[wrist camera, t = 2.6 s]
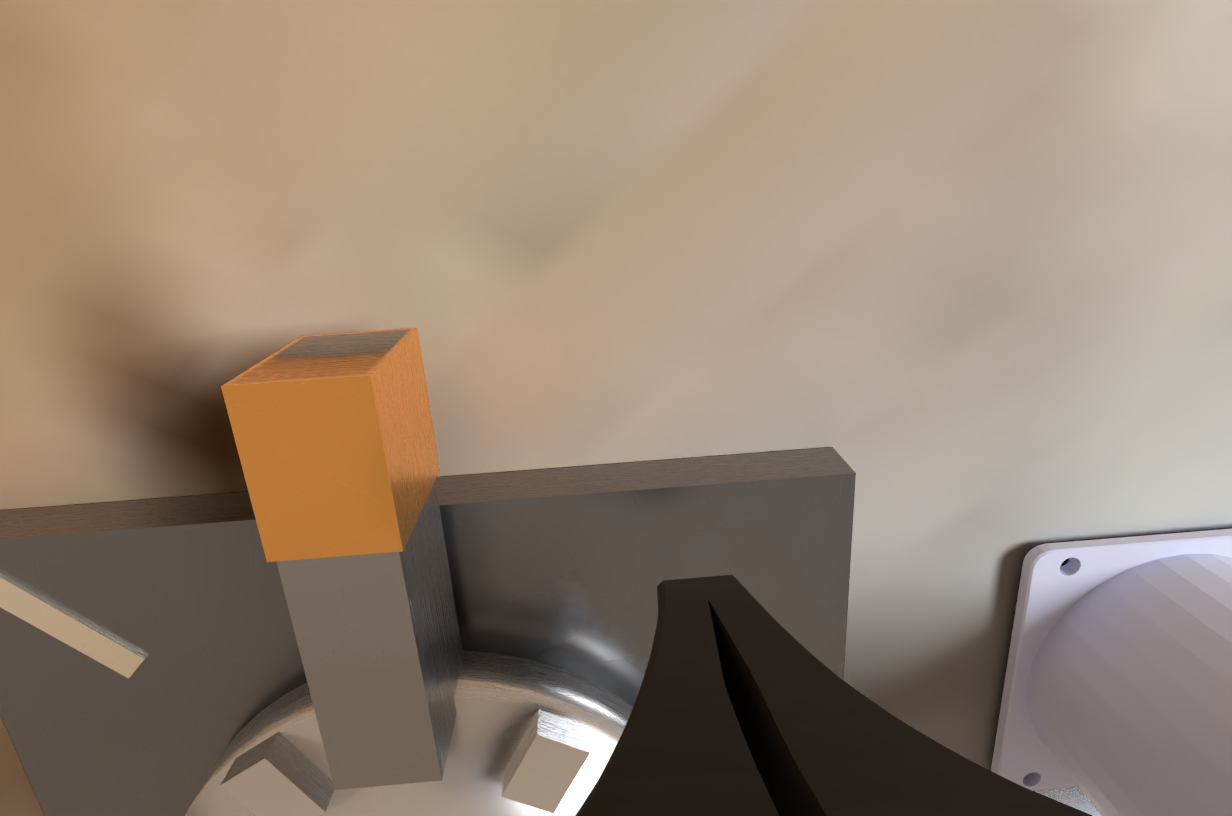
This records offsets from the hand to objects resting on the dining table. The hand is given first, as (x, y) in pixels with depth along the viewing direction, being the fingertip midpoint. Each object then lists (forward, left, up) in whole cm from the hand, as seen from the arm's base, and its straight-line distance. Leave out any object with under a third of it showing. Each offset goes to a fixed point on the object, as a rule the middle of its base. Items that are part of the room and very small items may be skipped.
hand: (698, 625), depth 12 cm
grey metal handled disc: (+6, +5, -3) cm, 9 cm away
